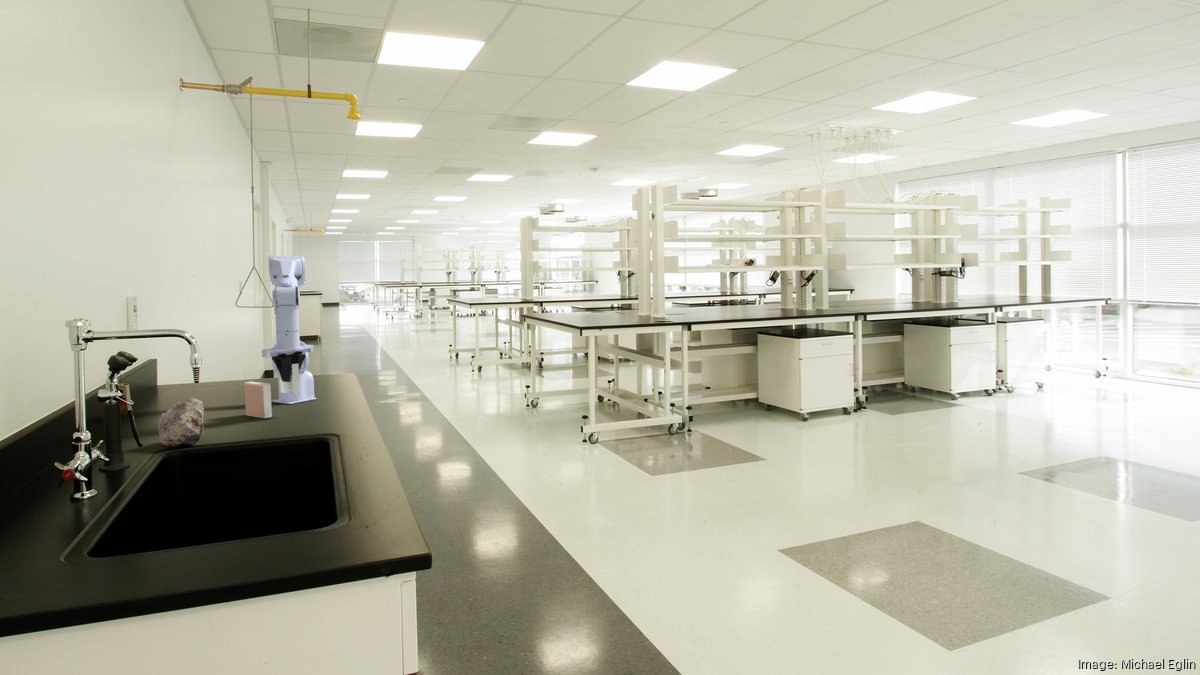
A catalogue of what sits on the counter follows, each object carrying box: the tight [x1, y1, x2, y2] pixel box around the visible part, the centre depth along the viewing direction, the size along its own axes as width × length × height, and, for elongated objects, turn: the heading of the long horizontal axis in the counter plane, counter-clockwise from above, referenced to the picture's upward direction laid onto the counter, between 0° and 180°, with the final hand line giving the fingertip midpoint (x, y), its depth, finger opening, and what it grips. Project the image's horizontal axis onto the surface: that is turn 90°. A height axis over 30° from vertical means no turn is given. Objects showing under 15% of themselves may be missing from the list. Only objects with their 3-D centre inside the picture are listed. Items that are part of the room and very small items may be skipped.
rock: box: [157, 397, 205, 447], centre depth 146 cm, size 9×12×10 cm
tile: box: [243, 381, 273, 419], centre depth 175 cm, size 2×8×9 cm, turn 62°
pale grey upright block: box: [280, 363, 300, 394], centre depth 177 cm, size 2×5×8 cm, turn 63°
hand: (289, 380), depth 177 cm, fingers closed on pale grey upright block, 2 cm apart
